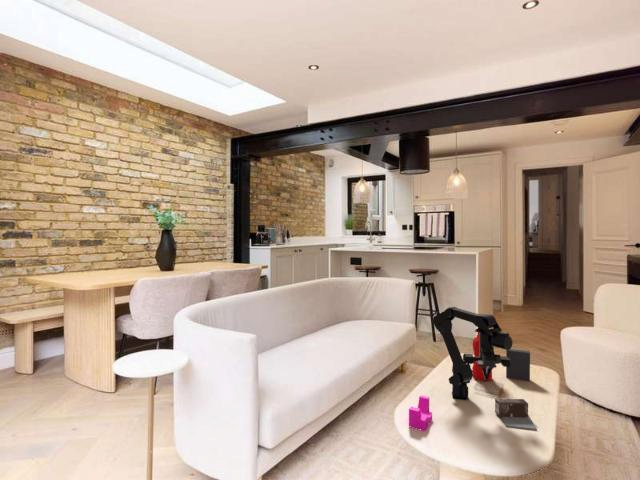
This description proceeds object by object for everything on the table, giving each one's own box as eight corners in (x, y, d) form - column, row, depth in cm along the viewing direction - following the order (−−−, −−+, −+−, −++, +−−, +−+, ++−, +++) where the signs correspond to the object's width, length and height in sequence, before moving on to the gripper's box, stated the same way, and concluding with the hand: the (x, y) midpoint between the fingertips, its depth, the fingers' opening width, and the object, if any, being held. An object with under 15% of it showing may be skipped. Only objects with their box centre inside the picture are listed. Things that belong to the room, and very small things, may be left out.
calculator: (529, 379, 196) (529, 350, 196) (529, 382, 192) (530, 353, 192) (506, 375, 201) (506, 347, 201) (506, 378, 197) (506, 350, 197)
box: (499, 403, 154) (528, 403, 154) (494, 398, 159) (522, 398, 158) (499, 417, 154) (528, 417, 154) (494, 412, 159) (523, 412, 159)
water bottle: (468, 373, 204) (468, 328, 203) (490, 375, 201) (490, 329, 200) (470, 380, 195) (470, 332, 194) (493, 382, 192) (493, 334, 191)
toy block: (424, 432, 144) (424, 413, 144) (408, 427, 148) (408, 409, 148) (435, 416, 157) (435, 398, 157) (420, 412, 160) (420, 395, 160)
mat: (505, 426, 148) (505, 425, 148) (498, 409, 162) (498, 408, 162) (536, 430, 145) (536, 428, 145) (526, 412, 160) (526, 411, 160)
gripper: (465, 347, 157) (465, 384, 157) (514, 351, 152) (514, 389, 152) (462, 340, 168) (462, 375, 168) (508, 343, 163) (508, 379, 163)
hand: (486, 379), depth 162 cm, fingers closed
